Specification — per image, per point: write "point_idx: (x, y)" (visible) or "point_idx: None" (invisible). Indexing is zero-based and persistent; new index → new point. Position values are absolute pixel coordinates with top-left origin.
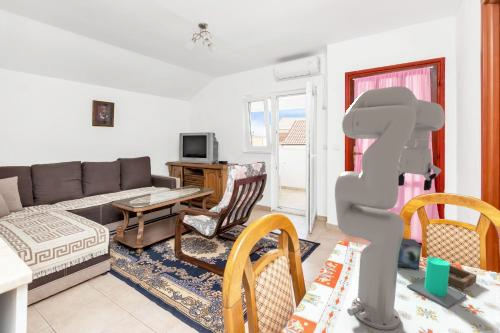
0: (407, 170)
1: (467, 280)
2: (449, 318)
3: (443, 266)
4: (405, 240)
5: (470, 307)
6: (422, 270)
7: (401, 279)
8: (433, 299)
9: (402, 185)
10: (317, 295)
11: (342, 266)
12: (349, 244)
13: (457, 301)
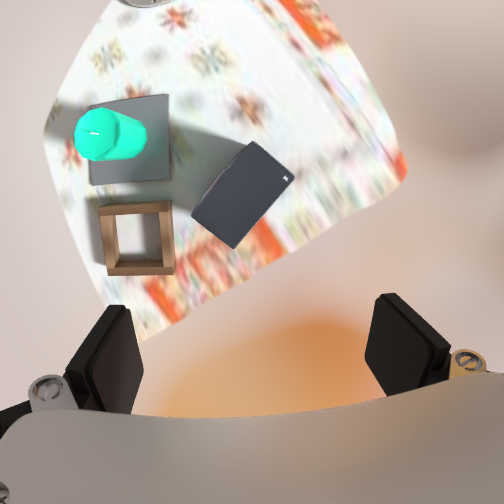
0: (387, 435)
1: (101, 227)
2: (81, 83)
3: (79, 120)
4: (242, 206)
5: (75, 154)
6: None
7: (195, 114)
8: (114, 102)
9: (369, 344)
10: None
11: (310, 40)
12: (391, 170)
13: None
